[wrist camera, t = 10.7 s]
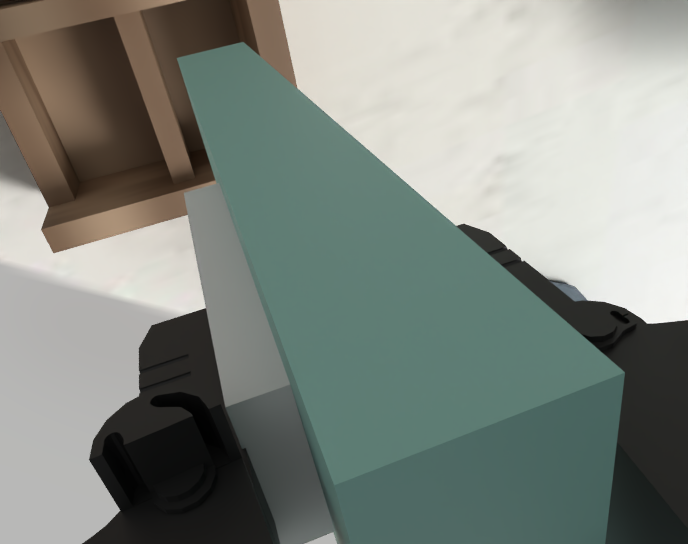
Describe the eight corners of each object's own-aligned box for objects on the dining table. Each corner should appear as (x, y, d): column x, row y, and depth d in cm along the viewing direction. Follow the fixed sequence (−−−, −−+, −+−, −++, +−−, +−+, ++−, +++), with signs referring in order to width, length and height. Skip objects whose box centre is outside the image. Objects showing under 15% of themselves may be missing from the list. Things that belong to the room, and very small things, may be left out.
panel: (243, 41, 17) (625, 372, 4) (285, 206, 20) (584, 724, 7) (176, 58, 17) (333, 484, 3) (229, 223, 20) (425, 804, 6)
